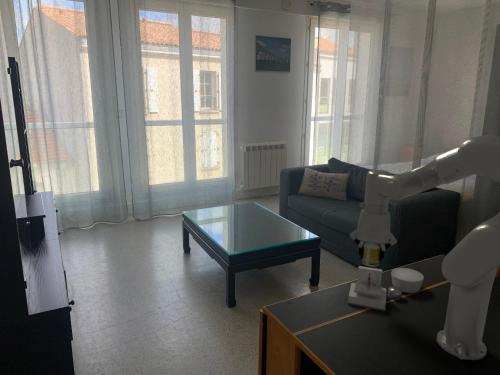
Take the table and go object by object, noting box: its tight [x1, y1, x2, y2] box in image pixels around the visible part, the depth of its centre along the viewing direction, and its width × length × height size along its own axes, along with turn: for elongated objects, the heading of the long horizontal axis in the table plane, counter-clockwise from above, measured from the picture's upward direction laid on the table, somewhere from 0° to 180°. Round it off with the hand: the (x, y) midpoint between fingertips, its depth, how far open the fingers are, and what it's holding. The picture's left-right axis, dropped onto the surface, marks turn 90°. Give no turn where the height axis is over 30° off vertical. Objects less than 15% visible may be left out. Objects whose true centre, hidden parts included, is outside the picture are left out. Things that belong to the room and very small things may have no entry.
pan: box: [354, 281, 383, 297], centre depth 131 cm, size 7×9×2 cm
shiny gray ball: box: [387, 285, 402, 301], centre depth 134 cm, size 4×4×3 cm
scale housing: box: [347, 265, 387, 312], centre depth 131 cm, size 10×12×10 cm
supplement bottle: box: [361, 241, 381, 268], centre depth 127 cm, size 5×5×10 cm
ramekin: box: [390, 267, 425, 294], centre depth 141 cm, size 11×11×5 cm
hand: (370, 258), depth 128 cm, fingers closed on supplement bottle, 5 cm apart
